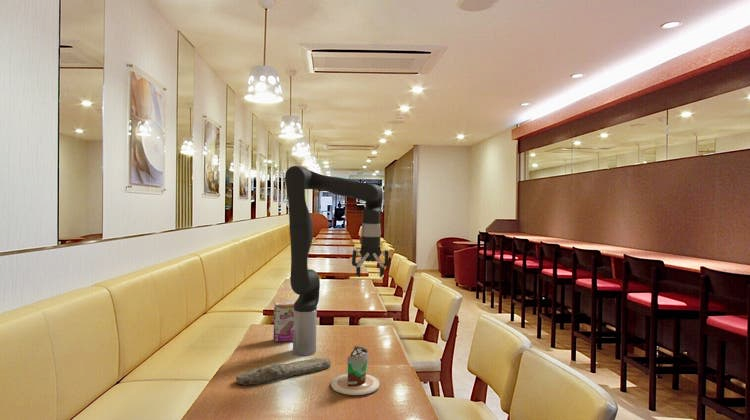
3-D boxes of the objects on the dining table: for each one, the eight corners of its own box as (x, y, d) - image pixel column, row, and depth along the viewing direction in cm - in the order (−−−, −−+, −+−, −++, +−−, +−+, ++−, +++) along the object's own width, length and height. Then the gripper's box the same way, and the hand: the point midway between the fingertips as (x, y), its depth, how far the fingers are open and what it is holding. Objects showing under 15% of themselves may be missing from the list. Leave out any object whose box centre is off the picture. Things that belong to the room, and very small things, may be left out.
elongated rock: (336, 373, 162) (323, 366, 170) (336, 358, 162) (323, 352, 171) (241, 389, 142) (231, 380, 150) (242, 372, 142) (232, 364, 151)
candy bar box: (273, 343, 191) (274, 305, 191) (273, 339, 196) (273, 302, 196) (299, 341, 194) (300, 304, 194) (298, 338, 199) (299, 301, 199)
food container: (365, 389, 141) (366, 358, 141) (346, 388, 142) (347, 357, 142) (371, 375, 153) (372, 346, 153) (353, 373, 154) (354, 345, 154)
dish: (332, 398, 138) (332, 393, 138) (329, 377, 154) (329, 373, 154) (383, 395, 140) (383, 390, 140) (375, 376, 156) (375, 371, 156)
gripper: (387, 234, 177) (386, 275, 178) (351, 234, 176) (350, 275, 176) (390, 236, 170) (389, 278, 170) (353, 235, 168) (352, 278, 168)
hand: (369, 276), depth 173 cm, fingers open, 8 cm apart
